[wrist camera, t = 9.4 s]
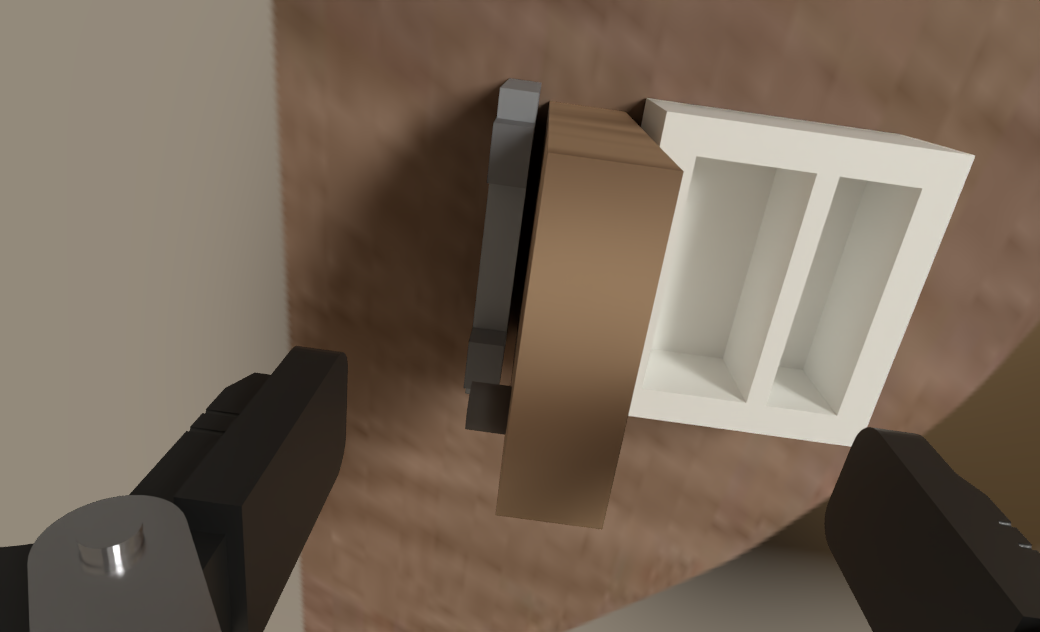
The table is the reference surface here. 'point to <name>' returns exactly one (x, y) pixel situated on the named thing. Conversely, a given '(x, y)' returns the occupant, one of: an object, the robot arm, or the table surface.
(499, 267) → the cabinet
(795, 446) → the table surface
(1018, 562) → the robot arm
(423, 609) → the table surface
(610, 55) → the table surface
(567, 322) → the door
